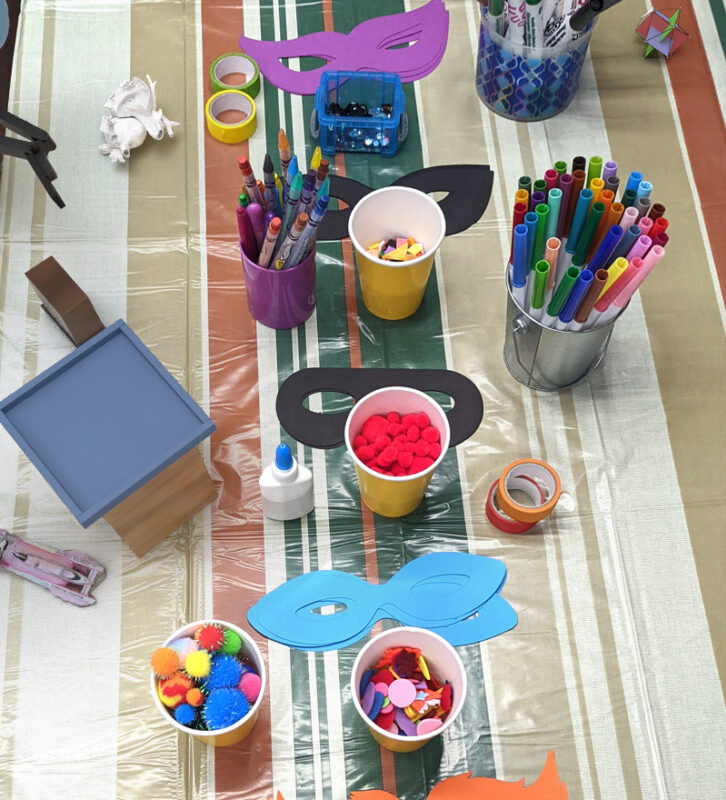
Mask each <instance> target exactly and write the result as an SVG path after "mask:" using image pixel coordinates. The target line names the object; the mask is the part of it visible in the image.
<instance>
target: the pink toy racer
mask: <svg viewBox="0 0 726 800" xmlns="http://www.w3.org/2000/svg"><path fill="white" fill-rule="evenodd" d="M4 541H5V544H4V545H3V548H2V547H1V546H0V568H2V569H4V570H5V571H8V572H10V573H14V574H15V575H17V576H20V577H23V578H25V579H27V580H28V581H31V582H33V583H34V584H37V585H38V586H40V587H42V588H43V589H48V590H49V591H50V592H51V595H52V596H53V597H58V598H61V599H62V601H64V602H65V603H68V601H69V602H70V604H73V605H74V606H76V607H78V608H84V607H86V606H89V605H92V604H94V603H96V599H95V597H94V595H93V594H92V592H93V591H94V590H95V588H97V587H98V586H99V585H100V584H101V583H102V582H103V581H104V580H105V579H106V578H107V576H106V573H105V567H103V566H102V565H101V564H100V563H99V562H98V561H97V560H95V559H93V558H92V557H90V556H89V555H87V554H85V553H82V552H80V551H77V550H74V549H64V550H63V549H59V548H54V547H52V546H48V545H45V544H42V543H40V542H37V541H34V540H31V539H29V538H26V537H24V536H21V535H18V534H14V533H11V532H10V531H8V530H6V529H5V528H0V545H1V544H2V543H3V542H4Z"/></svg>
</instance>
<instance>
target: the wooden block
mask: <svg viewBox="0 0 726 800" xmlns="http://www.w3.org/2000/svg"><path fill="white" fill-rule="evenodd" d="M219 497H220V494H219V492H218V490H217V488H216V486H215V484H214V481H213V479H212V477H211V474H210V472H209V469H208V468H207V465H206V463H205V461H204V459H203V456H202V454H201V451H200V449H199V447H198V445H197V446H195V447H194V448H193V449H191V450H190V451H189V452H187V453H186V454H185V455H183V456H182V457H181V458H179V459H178V460H177V461H175V462H174V463H173V464H171V465H170V466H169V467H167V468H166V469H165V470H163V471H162V472H161V473H159V474H158V475H157V476H155V477H154V478H153V479H151V480H150V481H149V482H147V483H146V484H145V485H143V486H142V487H141V488H139V489H138V490H137V491H135V492H134V493H133V494H131V495H130V496H129V497H127V498H126V499H125V500H123V501H122V502H121V503H119V504H118V505H117V506H115V507H114V508H113V509H112V510H110V511H109V512H108V513H106V514H105V515H104V516H102V517H103V518H104V519H105V520H106V522H107V523H108V524H109V525H110V527H111V528H112V529H113V530H114V531H115V532H116V534H117V535H118V536H119V537H120V538H121V540H123V542H124V543H125V544H126V545H127V546H128V548H129V549H130V550H131V551H132V553H133V554H134V555H135V556H136V557H137V558H138V559H140V558H142V557H143V556H145V554H147V553H148V552H149V551H150V550H152V549H154V548H155V547H156V546H157V545H158V544H160V543H161V542H162V541H164V540H165V539H166V538H168V537H169V536H170V535H172V534H173V533H174V532H175V531H177V530H178V529H179V528H180V527H182V526H183V525H184V524H185V523H187V522H188V521H189V520H191V519H192V518H194V516H196V515H197V514H199V513H200V512H201V511H203V510H204V509H205V508H206V507H207V506H209V505H210V504H211V503H213V502H214V501H216V500H217V499H218V498H219Z"/></svg>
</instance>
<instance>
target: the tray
mask: <svg viewBox="0 0 726 800" xmlns="http://www.w3.org/2000/svg"><path fill="white" fill-rule="evenodd" d="M0 424H1V426H2V427H3V429H4V430H5V431H6V432H7V433H8V435H9V436H10V437H11V438H12V440H13V441H14V443H15V444H16V445H17V446H18V447H19V449H20V450H21V451H22V452H23V454H24V455H25V456H26V457H27V459H28V460H29V461H30V462H31V464H32V465H33V466H34V468H35V469H36V470H37V472H38V473H39V474H40V475H41V477H42V478H43V479H44V480H45V481H46V483H47V484H48V486H49V487H50V488H51V489H52V490H53V492H54V493H55V494H56V495H57V497H58V498H59V499H60V500H61V502H62V503H63V504H64V505H65V507H66V508H67V509H68V510H69V512H70V513H71V514H72V515H73V517H74V518H75V519H76V520H77V522H78V523H79V524H80V526H81V527H82V528H83V529H85V530H86V529H87V528H89V527H90V526H92V525H93V524H95V523H96V522H97V521H98V520H100V519H101V518H102V517H103V516H104V515H105V514H106V513H108V512H109V511H110V510H112V509H113V508H114V507H115V506H117V505H118V504H119V503H121V502H122V501H123V500H125V499H126V498H127V497H129V496H130V495H131V494H133V493H134V492H135V491H137V490H138V489H139V488H141V487H142V486H143V485H145V484H146V483H147V482H149V481H150V480H151V479H153V478H154V477H155V476H157V475H158V474H159V473H161V472H162V471H163V470H165V469H166V468H167V467H169V466H170V465H171V464H173V463H174V462H175V461H177V460H178V459H179V458H181V457H182V456H183V455H185V454H186V453H187V452H189V451H190V450H191V449H193V448H194V447H195V446H197V447H198V445H200V444H201V443H202V442H203V441H205V440H206V439H207V438H209V437H210V436H211V435H213V434H214V433H215V432H217V431H218V428H217V426H216V423H215V422H214V421H213V419H212V418H210V416H209V415H208V414H207V413H206V412H205V411H204V410H203V408H202V407H201V406H200V405H199V404H198V403H197V402H196V401H195V399H194V398H193V397H192V396H191V395H190V394H189V393H188V392H187V391H186V389H185V388H184V387H183V386H182V385H181V384H180V382H178V380H177V379H176V377H174V376H173V374H172V373H171V372H170V371H169V370H168V369H167V368H166V366H165V365H164V364H163V363H162V362H161V361H160V360H159V358H158V357H157V356H156V355H155V354H154V353H153V352H152V350H150V349H149V348H148V347H147V345H146V344H145V343H144V342H143V340H141V338H140V337H139V336H138V335H137V334H136V333H135V332H134V331H133V329H132V328H131V327H130V326H129V325H128V324H127V323H126V322H125V321H124V319H123V318H122V317H120V318H118V319H117V320H116V321H114V322H112V323H111V324H110V325H108V326H107V327H106V329H104V330H103V331H101V332H100V333H98V334H97V335H96V336H94V337H93V338H91V339H90V340H88V341H87V342H85V343H84V344H83V345H81V346H80V347H78V348H77V349H75V348H74V350H72V351H71V352H70V353H68V354H67V355H65V356H64V357H62V358H61V359H59V360H58V361H57V362H55V363H53V364H52V365H50V366H49V367H48V368H46V369H45V370H43V371H42V372H40V373H39V374H38V375H36V376H35V377H33V378H32V379H30V380H29V381H28V382H26V383H24V384H23V385H21V387H19V388H17V389H16V390H14V392H12V393H10V394H9V395H7V396H6V397H5V398H3V399H2V400H0Z"/></svg>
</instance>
